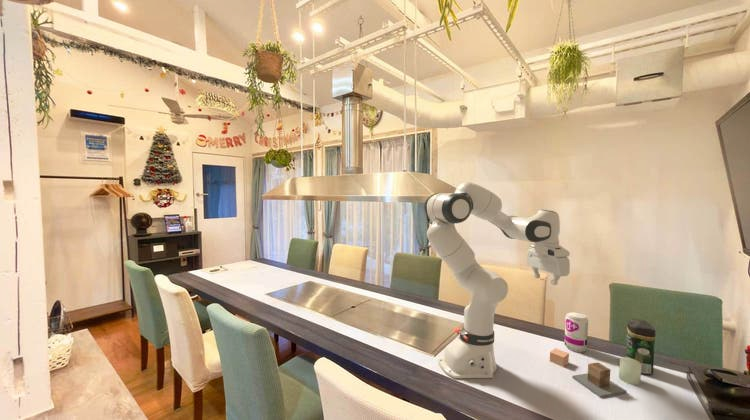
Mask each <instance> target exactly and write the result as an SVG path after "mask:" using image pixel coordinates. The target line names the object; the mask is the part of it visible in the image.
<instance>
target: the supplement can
mask: <svg viewBox="0 0 750 420" xmlns="http://www.w3.org/2000/svg"><path fill="white" fill-rule="evenodd" d="M564 322H565V325H564V328H565V329H564V341H563V342H564V343H563V344H564V346H565V347H566V348H567V349H568V350H570V351H572V352H576V353H584V352H586V351H587V350H588V337H589V336H588V335H589V334H588V333H589V332H588V330H589V319H588V317H587V315H586V314H584V313H582V312H580V311H579V312H577V311H568V312H567V313H566V315H565V320H564Z"/></svg>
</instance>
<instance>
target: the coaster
mask: <svg viewBox="0 0 750 420" xmlns="http://www.w3.org/2000/svg"><path fill="white" fill-rule="evenodd" d="M572 379H573V380H574V381H576V382H577V383H579V384H580V385H582V387H585V388H586V389H587V390H589V391H590V392H592V393H593V394H594V395H596V396H597V397H599V398H606V397H611V396H617V395H623V394H627V390H626V389H624V388H623V387H621V386H620V385H618V384H617V383H615V382H613V381H612V380H610V386H607V387H601V388H599V387H597V386H596V385H594V384H593V383H591V382H590V381H588V372H587V373H582V374H581V373H580V374H576V375H572Z"/></svg>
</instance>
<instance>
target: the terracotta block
mask: <svg viewBox="0 0 750 420" xmlns="http://www.w3.org/2000/svg"><path fill="white" fill-rule="evenodd" d="M569 355H570V353H568V352H566V351H564V350H561V349H558V348H554V349H552V350H551V351H550V352H549V362H551V363H553V364H555V365H558V366H560V367H563V368H564V367H565V366H567V364H569V361H570V359H569V357H570V356H569Z"/></svg>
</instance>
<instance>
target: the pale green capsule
mask: <svg viewBox="0 0 750 420" xmlns="http://www.w3.org/2000/svg"><path fill="white" fill-rule="evenodd" d="M618 368H619V370H618V378H619V380H620V381H622V382H624V383H626V384H628V385H631V386H640V385H641V381H642V380H641V375H642V374H641V363H640V362H639V361H637V360H635V359H632V358H628V357H626V356H621V357H620V358H619V367H618Z"/></svg>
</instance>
